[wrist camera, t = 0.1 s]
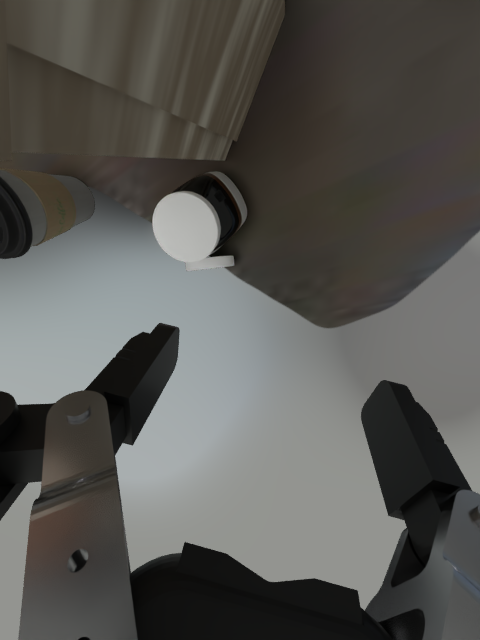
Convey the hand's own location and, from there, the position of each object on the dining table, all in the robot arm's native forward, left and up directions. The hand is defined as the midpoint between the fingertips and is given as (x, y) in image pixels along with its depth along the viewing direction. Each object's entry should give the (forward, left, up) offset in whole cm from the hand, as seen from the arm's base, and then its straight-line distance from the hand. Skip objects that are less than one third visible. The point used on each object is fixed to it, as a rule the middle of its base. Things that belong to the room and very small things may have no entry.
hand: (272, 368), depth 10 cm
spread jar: (+3, -9, -30) cm, 31 cm away
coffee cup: (+3, -30, -29) cm, 42 cm away
